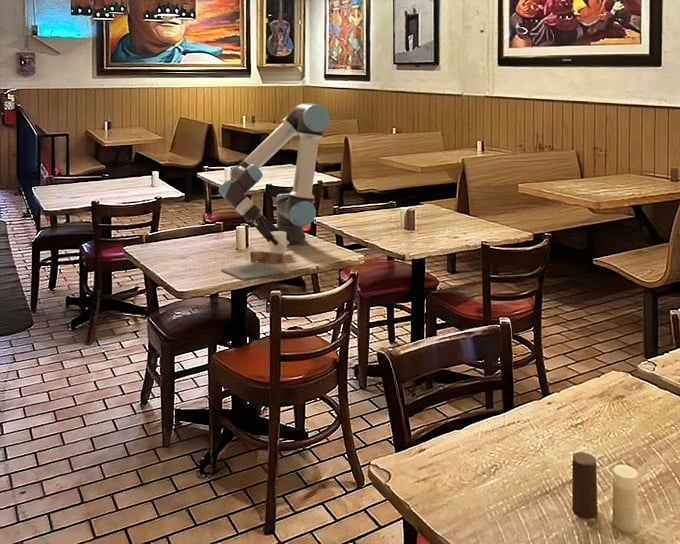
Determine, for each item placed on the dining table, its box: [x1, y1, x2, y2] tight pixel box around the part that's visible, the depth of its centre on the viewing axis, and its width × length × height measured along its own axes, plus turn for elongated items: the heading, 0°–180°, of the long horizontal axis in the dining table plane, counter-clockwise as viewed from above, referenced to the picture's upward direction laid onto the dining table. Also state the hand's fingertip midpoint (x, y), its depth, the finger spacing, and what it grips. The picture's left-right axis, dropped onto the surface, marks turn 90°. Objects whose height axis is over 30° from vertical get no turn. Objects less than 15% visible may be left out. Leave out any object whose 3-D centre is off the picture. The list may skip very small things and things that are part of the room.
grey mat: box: [221, 262, 284, 281], centre depth 302 cm, size 18×18×1 cm
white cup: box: [268, 231, 287, 257], centre depth 329 cm, size 8×8×10 cm
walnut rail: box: [249, 250, 284, 265], centre depth 318 cm, size 14×2×4 cm, turn 73°
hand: (285, 247), depth 329 cm, fingers open, 8 cm apart
